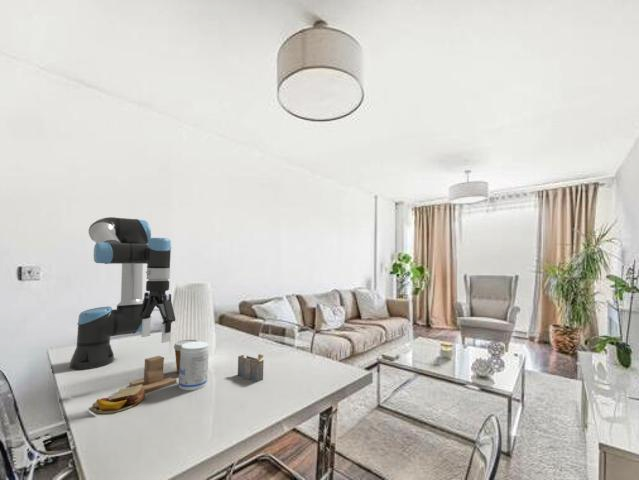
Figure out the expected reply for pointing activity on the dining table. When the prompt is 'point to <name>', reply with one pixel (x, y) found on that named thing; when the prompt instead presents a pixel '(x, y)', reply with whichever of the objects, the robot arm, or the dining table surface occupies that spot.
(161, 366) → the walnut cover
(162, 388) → the grey square tile
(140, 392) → the toy sandwich meal
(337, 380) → the dining table surface
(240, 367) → the ruin model on sheet
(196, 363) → the supplement tub
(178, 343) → the disposable coffee cup
